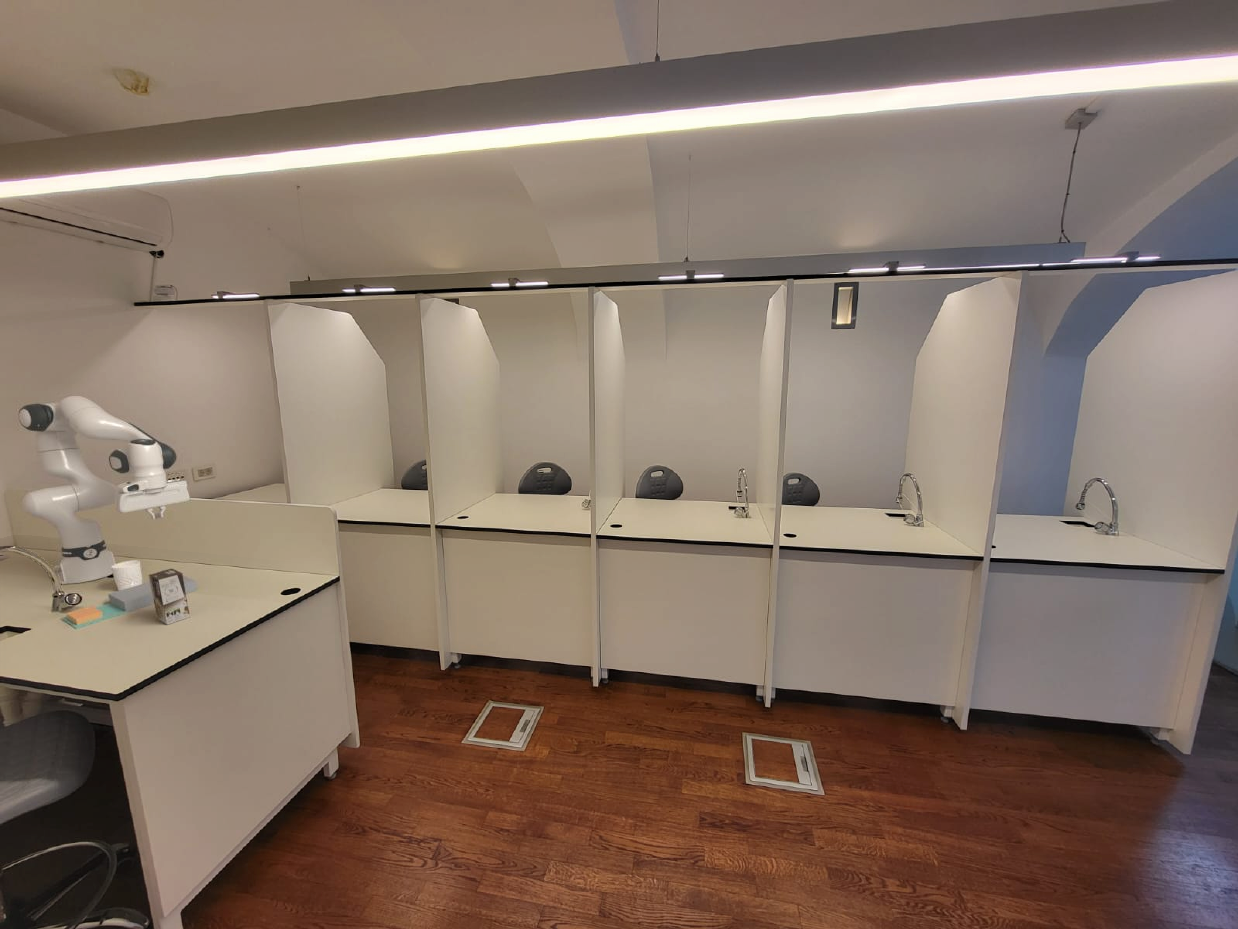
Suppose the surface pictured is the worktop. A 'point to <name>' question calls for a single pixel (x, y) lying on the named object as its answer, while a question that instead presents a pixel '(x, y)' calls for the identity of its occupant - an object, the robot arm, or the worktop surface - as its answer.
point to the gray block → (141, 595)
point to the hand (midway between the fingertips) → (157, 518)
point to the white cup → (127, 574)
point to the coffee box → (169, 596)
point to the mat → (107, 613)
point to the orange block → (84, 615)
